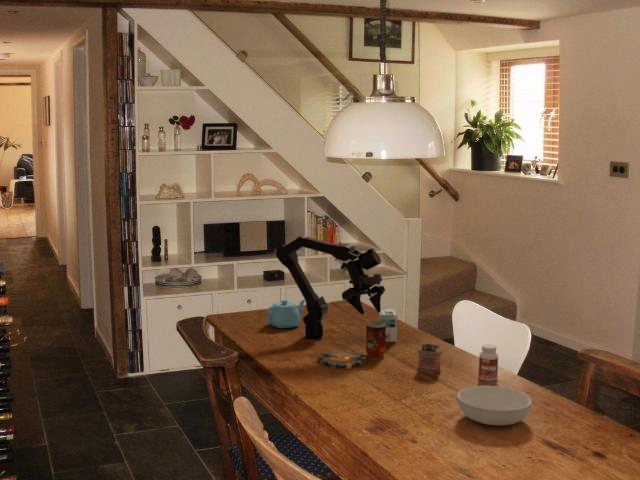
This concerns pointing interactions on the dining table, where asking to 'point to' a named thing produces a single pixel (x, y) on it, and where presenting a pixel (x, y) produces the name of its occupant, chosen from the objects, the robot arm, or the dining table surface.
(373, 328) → the soda can
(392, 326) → the light bulb box
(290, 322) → the teapot
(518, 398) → the serving bowl
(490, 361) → the pill bottle
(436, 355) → the lighter
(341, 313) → the dining table surface
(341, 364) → the sprocket plate
